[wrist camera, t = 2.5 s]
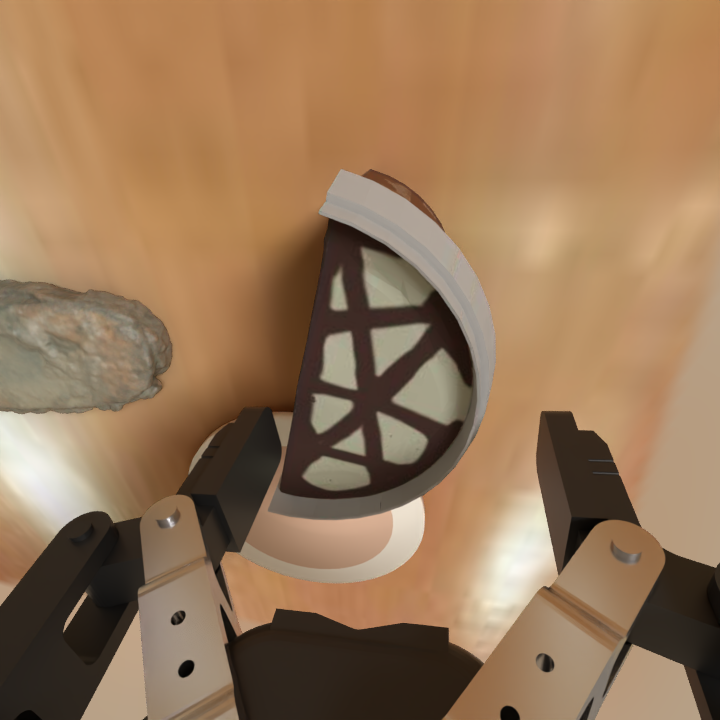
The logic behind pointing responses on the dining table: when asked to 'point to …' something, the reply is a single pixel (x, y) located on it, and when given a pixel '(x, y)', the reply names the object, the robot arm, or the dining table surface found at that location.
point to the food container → (385, 358)
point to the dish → (328, 535)
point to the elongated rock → (76, 349)
